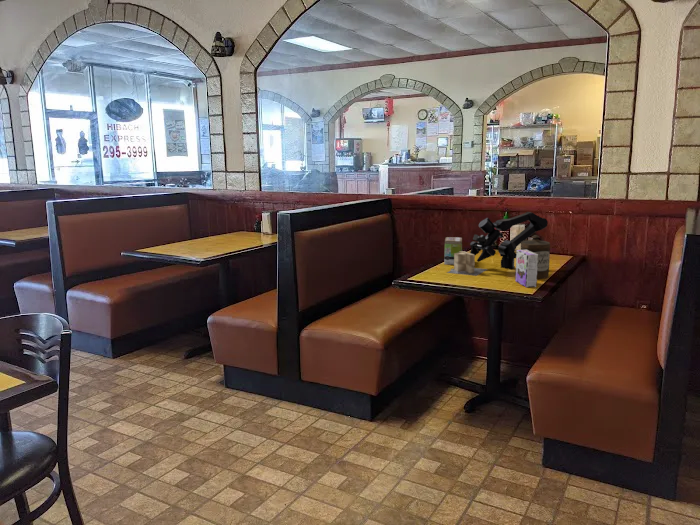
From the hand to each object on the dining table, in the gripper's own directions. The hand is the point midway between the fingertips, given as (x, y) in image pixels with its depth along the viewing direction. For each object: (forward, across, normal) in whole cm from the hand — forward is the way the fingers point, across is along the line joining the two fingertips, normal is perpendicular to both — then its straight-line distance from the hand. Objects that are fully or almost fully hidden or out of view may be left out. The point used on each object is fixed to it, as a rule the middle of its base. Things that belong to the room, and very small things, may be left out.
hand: (473, 259), depth 308 cm
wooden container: (-11, +23, +22) cm, 33 cm away
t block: (+8, 0, 0) cm, 8 cm away
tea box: (+4, -25, +6) cm, 26 cm away
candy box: (-1, +36, +11) cm, 38 cm away
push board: (+7, 0, +2) cm, 7 cm away
